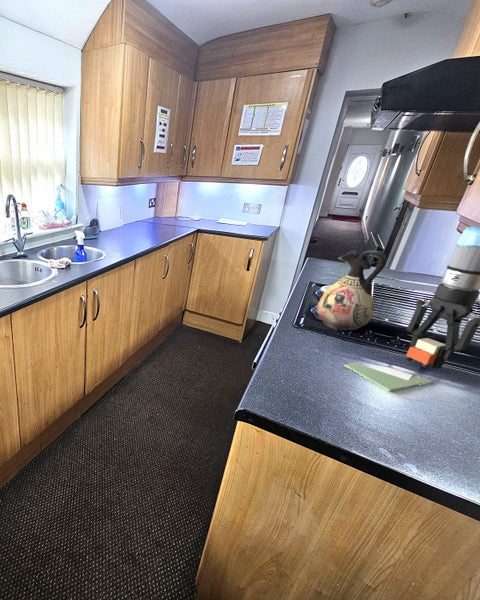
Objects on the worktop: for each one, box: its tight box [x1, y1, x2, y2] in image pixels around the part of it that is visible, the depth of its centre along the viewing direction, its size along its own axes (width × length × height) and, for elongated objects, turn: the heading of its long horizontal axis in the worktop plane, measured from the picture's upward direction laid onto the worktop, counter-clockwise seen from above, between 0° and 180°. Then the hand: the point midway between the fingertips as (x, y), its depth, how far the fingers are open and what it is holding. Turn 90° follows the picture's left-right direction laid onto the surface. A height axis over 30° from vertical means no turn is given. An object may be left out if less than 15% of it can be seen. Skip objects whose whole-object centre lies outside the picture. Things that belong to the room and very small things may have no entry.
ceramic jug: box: [317, 249, 387, 331], centre depth 112 cm, size 17×15×30 cm
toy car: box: [405, 337, 448, 370], centre depth 93 cm, size 8×5×7 cm, turn 105°
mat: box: [343, 362, 433, 392], centre depth 92 cm, size 16×12×1 cm
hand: (424, 361), depth 94 cm, fingers closed on toy car, 5 cm apart
